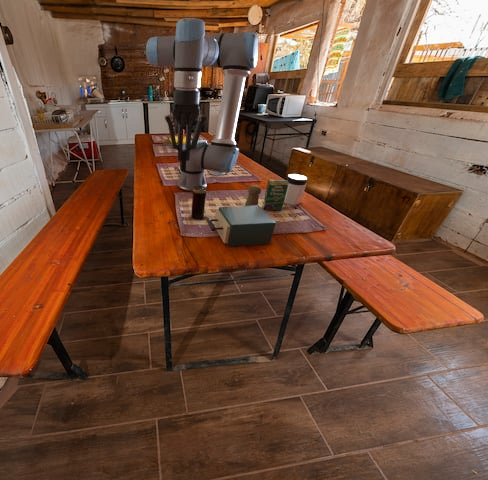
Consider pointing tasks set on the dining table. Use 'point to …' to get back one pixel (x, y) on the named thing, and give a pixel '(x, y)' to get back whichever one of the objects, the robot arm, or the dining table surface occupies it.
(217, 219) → the drawer
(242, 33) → the robot arm
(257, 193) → the olive peanut shape
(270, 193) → the coffee box
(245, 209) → the cabinet
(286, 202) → the jar
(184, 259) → the dining table surface
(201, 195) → the tin
